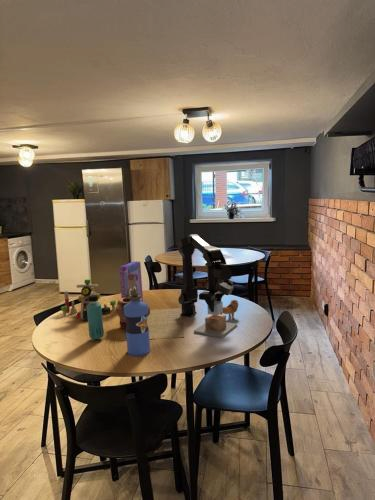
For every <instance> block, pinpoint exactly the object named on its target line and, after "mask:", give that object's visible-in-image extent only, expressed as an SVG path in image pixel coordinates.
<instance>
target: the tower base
mask: <svg viewBox="0 0 375 500" xmlns="http://www.w3.org/2000/svg"><path fill="white" fill-rule="evenodd" d="M237 327H238V323H234V322H228V321H227V314H222V315H221V314H219V315H212V314H208V315H207V316H206V317H204V324H202V325H200V326H199V327H197V328H196V329H194V330H193V333H194V334H197V335H203V336H208V337H212V338H213V337H214V338H219V339H223V338H224V337H226V336H227V335H228V334H229V333H231V331H233V330H234V329H235V328H237Z"/></svg>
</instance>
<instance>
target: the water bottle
mask: <svg viewBox="0 0 375 500" xmlns="http://www.w3.org/2000/svg"><path fill="white" fill-rule="evenodd" d="M139 294H140V293H139V292H138V291H137V290H133V291H132V292H131V293H130V295H131V296H130V302H129V303H128V304H126V305H124V315H125V319H126V324H127V326H126V330H125V337H126V348H127V349H126V350H127V354H128V355H129V356H131V357H142V356H146V355H148V354H149V353H150V352H151V344H150V343H151V340H150V330H149V329H150V328H149V324H148V317H149V316H148V307H149V304H148V303H147V302H144V301H143V300H142V301H143V302H142V301H140V300H141V297H140V295H139ZM147 316H148V317H147Z"/></svg>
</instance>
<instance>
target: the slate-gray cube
mask: <svg viewBox="0 0 375 500" xmlns="http://www.w3.org/2000/svg"><path fill="white" fill-rule="evenodd" d="M223 307H224V306H223V301H222V300H221V301H215V303H214V312H211V311H210V309H209V307H208V306H207V315H211V314H212V315H219V314H221V313H222V312H223ZM222 314H223V313H222Z"/></svg>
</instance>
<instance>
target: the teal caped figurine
mask: <svg viewBox="0 0 375 500" xmlns="http://www.w3.org/2000/svg"><path fill="white" fill-rule="evenodd" d="M97 300H98V301H99V299H98V296H97V295H91V296H89V297H88V301H89V302H92V303H89V304H88V305H87V315H88V320H87V326H88V327H87V328H88V336H89V339H90V340H99V339H101V338H103V337H104V335H105V329H104V322H103V321H104V320H103V313H102V309H101V308H102V304H101V303H100V302H98V301H97ZM94 301H97V302H94Z"/></svg>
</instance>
